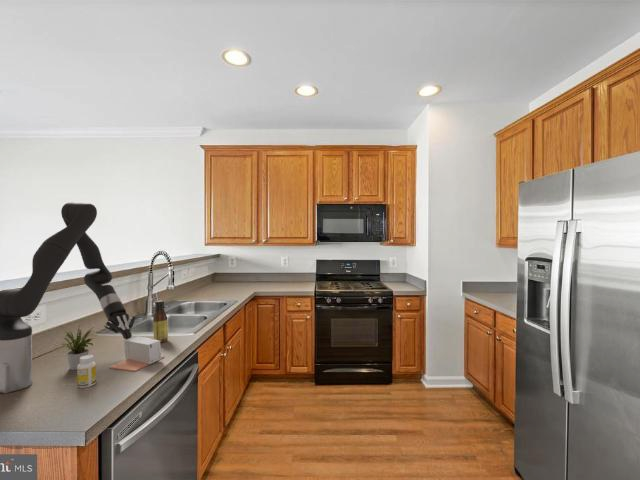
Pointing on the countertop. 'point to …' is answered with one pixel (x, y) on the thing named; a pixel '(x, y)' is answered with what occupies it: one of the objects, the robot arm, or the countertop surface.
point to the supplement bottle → (86, 372)
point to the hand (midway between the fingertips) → (128, 338)
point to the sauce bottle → (160, 322)
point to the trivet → (130, 365)
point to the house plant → (76, 348)
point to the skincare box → (142, 349)
